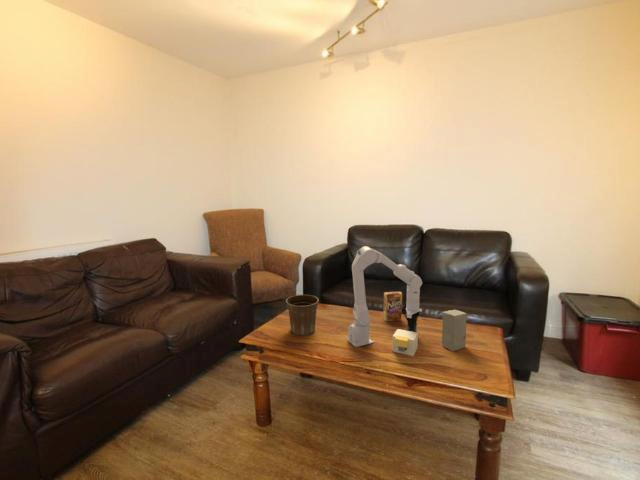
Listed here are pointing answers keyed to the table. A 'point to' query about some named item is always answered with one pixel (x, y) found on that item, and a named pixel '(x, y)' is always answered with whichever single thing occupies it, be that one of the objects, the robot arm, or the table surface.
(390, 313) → the candy box
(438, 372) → the table surface
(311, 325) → the plant pot
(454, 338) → the skincare box
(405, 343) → the block
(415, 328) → the shaft
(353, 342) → the robot arm
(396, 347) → the bearing block
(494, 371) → the table surface
